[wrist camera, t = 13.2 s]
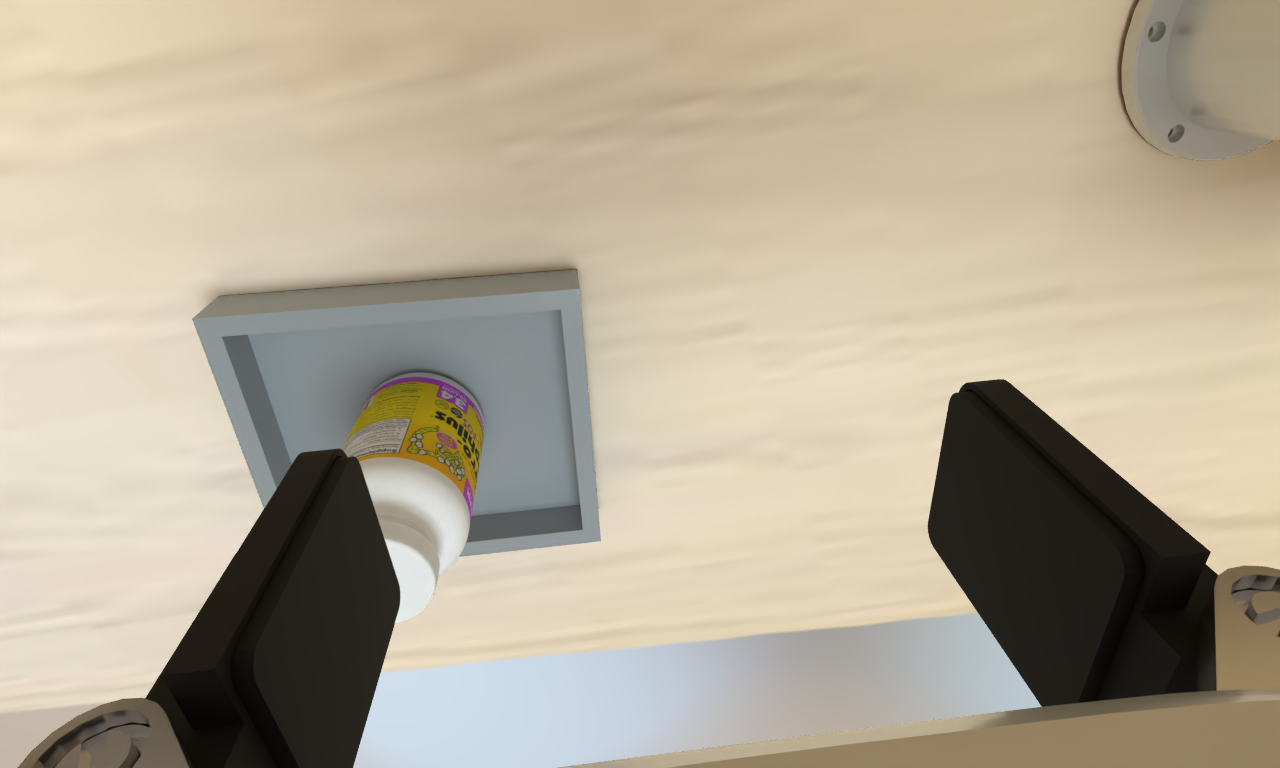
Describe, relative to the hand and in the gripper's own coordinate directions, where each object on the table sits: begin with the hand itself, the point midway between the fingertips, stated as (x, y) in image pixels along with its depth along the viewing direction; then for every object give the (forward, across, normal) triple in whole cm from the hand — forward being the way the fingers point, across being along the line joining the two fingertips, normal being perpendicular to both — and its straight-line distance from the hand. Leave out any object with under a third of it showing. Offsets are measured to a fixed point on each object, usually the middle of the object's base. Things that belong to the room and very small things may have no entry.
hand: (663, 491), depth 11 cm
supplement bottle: (+25, +11, +13) cm, 30 cm away
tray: (+26, +11, +13) cm, 31 cm away
